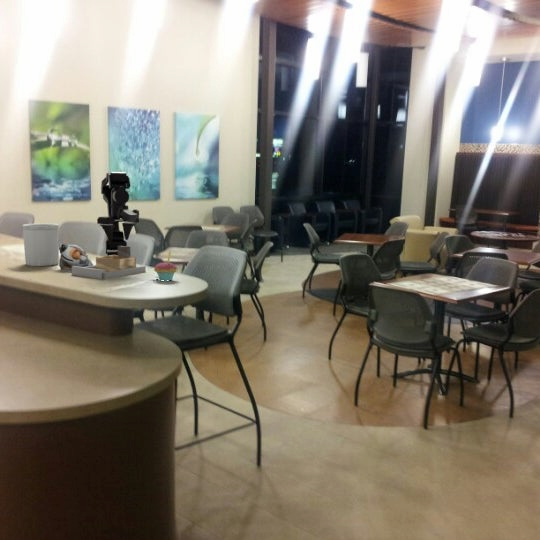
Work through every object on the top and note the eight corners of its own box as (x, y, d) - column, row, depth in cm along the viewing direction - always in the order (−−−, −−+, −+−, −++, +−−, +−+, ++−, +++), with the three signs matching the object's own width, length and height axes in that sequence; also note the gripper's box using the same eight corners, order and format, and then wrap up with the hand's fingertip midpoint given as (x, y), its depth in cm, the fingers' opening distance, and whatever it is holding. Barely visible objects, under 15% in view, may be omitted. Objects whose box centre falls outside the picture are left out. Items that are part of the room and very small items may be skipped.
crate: (115, 268, 244) (114, 245, 243) (137, 271, 239) (136, 247, 237) (96, 272, 235) (95, 247, 234) (118, 275, 229) (118, 249, 228)
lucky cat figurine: (99, 269, 250) (98, 242, 241) (80, 283, 241) (77, 256, 233) (72, 256, 254) (69, 229, 246) (52, 270, 245) (48, 243, 237)
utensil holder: (16, 264, 255) (14, 224, 252) (41, 260, 269) (40, 222, 266) (42, 267, 250) (41, 226, 247) (66, 263, 263) (66, 224, 261)
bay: (114, 270, 248) (114, 259, 247) (145, 274, 240) (145, 263, 239) (71, 277, 228) (71, 266, 227) (104, 282, 220) (103, 270, 219)
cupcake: (180, 279, 231) (180, 249, 229) (170, 283, 223) (170, 251, 221) (161, 277, 234) (161, 247, 232) (150, 281, 226) (150, 250, 224)
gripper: (116, 204, 229) (117, 244, 231) (148, 203, 245) (148, 240, 247) (96, 202, 234) (96, 241, 237) (128, 202, 250) (129, 238, 253)
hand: (118, 240), depth 243 cm, fingers open, 9 cm apart
